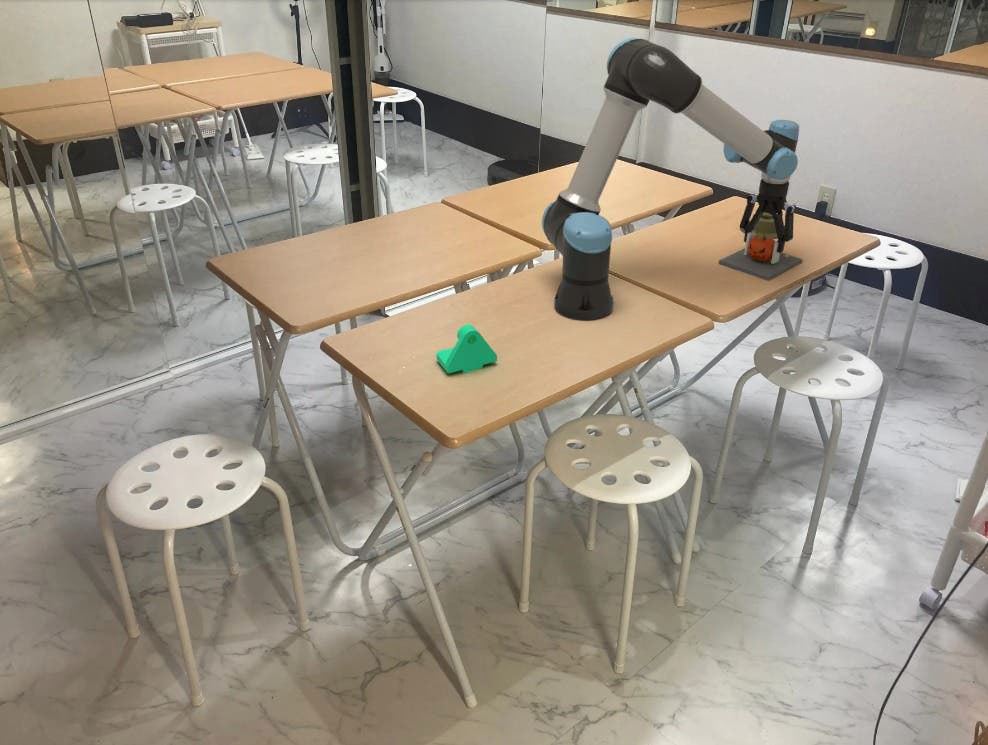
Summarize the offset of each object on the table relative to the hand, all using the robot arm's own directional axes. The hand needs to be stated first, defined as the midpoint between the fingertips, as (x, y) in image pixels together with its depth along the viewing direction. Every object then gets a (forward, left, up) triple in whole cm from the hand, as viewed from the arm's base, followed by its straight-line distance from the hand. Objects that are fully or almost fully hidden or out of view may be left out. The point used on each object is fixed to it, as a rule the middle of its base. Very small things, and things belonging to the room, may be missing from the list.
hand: (761, 257), depth 228 cm
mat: (0, 0, -2) cm, 2 cm away
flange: (+24, +13, -2) cm, 28 cm away
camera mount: (-98, +15, -2) cm, 100 cm away
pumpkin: (0, 0, -1) cm, 1 cm away
